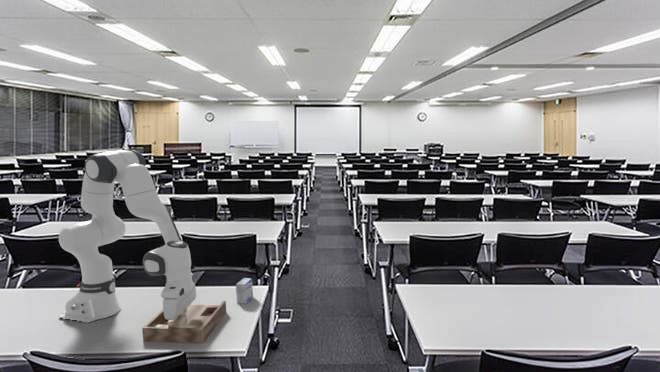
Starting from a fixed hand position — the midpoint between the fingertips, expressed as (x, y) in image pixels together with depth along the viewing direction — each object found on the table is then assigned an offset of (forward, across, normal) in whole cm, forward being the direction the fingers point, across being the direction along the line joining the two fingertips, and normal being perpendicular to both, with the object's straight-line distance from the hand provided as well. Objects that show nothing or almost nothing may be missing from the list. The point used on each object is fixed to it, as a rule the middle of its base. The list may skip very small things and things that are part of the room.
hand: (182, 320), depth 163 cm
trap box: (+4, -5, 0) cm, 6 cm away
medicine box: (+4, -30, +15) cm, 33 cm away
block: (+1, +4, 0) cm, 5 cm away
